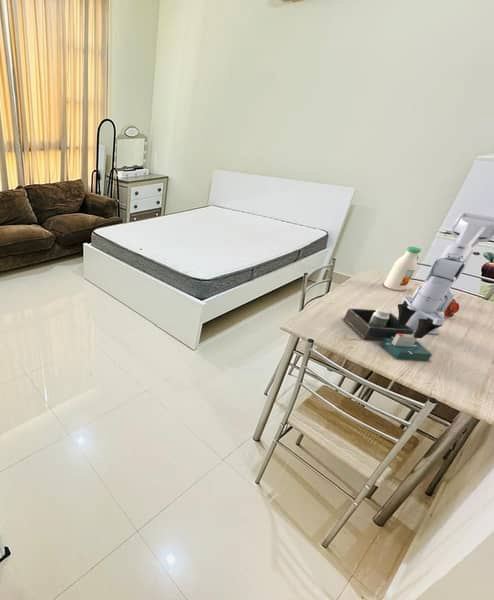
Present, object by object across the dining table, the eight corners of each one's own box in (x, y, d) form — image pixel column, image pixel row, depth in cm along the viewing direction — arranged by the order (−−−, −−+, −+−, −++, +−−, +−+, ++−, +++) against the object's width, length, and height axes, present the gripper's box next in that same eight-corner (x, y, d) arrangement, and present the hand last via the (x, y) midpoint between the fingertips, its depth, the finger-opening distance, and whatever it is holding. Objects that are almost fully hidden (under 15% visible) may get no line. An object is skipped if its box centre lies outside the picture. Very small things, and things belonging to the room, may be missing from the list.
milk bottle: (389, 290, 151) (410, 250, 141) (380, 283, 158) (399, 244, 148) (408, 291, 150) (430, 251, 140) (397, 284, 157) (418, 245, 146)
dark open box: (382, 321, 128) (388, 310, 125) (406, 342, 116) (414, 330, 113) (343, 319, 129) (348, 308, 126) (363, 339, 117) (370, 327, 115)
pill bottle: (384, 333, 120) (395, 314, 115) (370, 331, 120) (380, 312, 116) (377, 325, 124) (387, 307, 119) (364, 324, 124) (373, 306, 120)
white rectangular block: (408, 344, 110) (414, 334, 108) (411, 346, 109) (418, 336, 107) (391, 342, 111) (397, 333, 109) (394, 345, 109) (400, 335, 107)
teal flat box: (408, 344, 115) (413, 337, 113) (429, 362, 106) (435, 355, 105) (373, 342, 116) (377, 335, 114) (391, 359, 108) (396, 352, 106)
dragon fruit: (432, 322, 130) (434, 315, 138) (463, 318, 124) (463, 311, 131) (424, 302, 131) (427, 297, 138) (455, 297, 124) (456, 292, 132)
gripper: (400, 284, 107) (381, 318, 114) (435, 306, 94) (412, 343, 101) (423, 285, 106) (403, 319, 113) (461, 308, 94) (436, 344, 101)
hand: (408, 330), depth 107 cm, fingers open, 7 cm apart
